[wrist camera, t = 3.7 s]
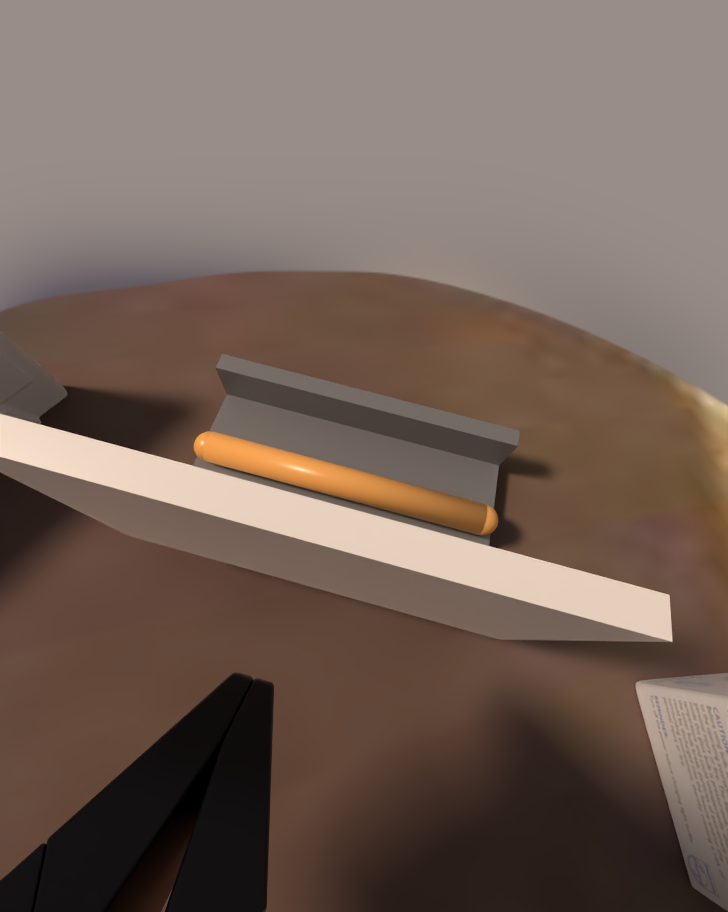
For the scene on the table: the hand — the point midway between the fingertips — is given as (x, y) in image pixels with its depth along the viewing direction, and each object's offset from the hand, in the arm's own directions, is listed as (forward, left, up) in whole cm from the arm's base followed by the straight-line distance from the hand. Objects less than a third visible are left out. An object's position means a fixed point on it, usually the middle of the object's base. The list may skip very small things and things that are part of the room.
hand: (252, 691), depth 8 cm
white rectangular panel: (+3, -2, -2) cm, 4 cm away
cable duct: (+7, -4, -9) cm, 12 cm away
